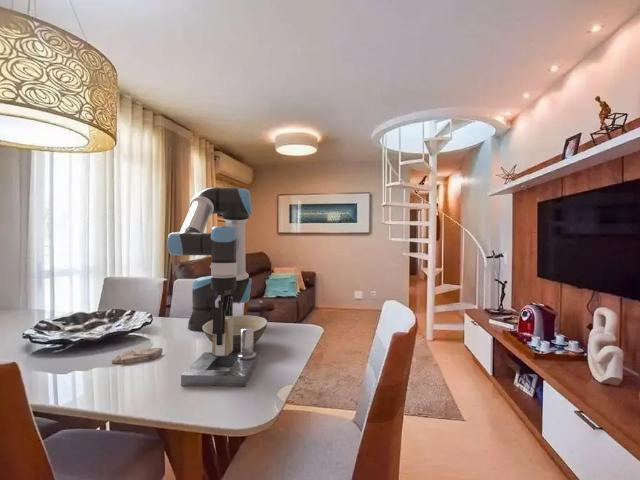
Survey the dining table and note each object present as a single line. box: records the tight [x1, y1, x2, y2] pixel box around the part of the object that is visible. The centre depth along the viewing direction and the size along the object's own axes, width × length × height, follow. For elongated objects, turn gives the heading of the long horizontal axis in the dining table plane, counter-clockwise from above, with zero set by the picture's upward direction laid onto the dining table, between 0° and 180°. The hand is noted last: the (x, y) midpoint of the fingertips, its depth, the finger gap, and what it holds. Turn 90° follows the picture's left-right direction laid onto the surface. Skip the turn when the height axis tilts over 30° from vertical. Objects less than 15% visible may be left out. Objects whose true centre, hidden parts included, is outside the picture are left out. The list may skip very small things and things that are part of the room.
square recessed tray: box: [180, 351, 259, 388], centre depth 100 cm, size 18×18×3 cm
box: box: [211, 315, 235, 355], centre depth 100 cm, size 5×4×11 cm
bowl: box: [202, 314, 268, 353], centre depth 122 cm, size 24×24×10 cm
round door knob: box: [237, 327, 257, 360], centre depth 106 cm, size 6×6×12 cm
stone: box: [111, 347, 163, 365], centre depth 111 cm, size 12×12×3 cm
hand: (223, 351), depth 100 cm, fingers closed on box, 5 cm apart
